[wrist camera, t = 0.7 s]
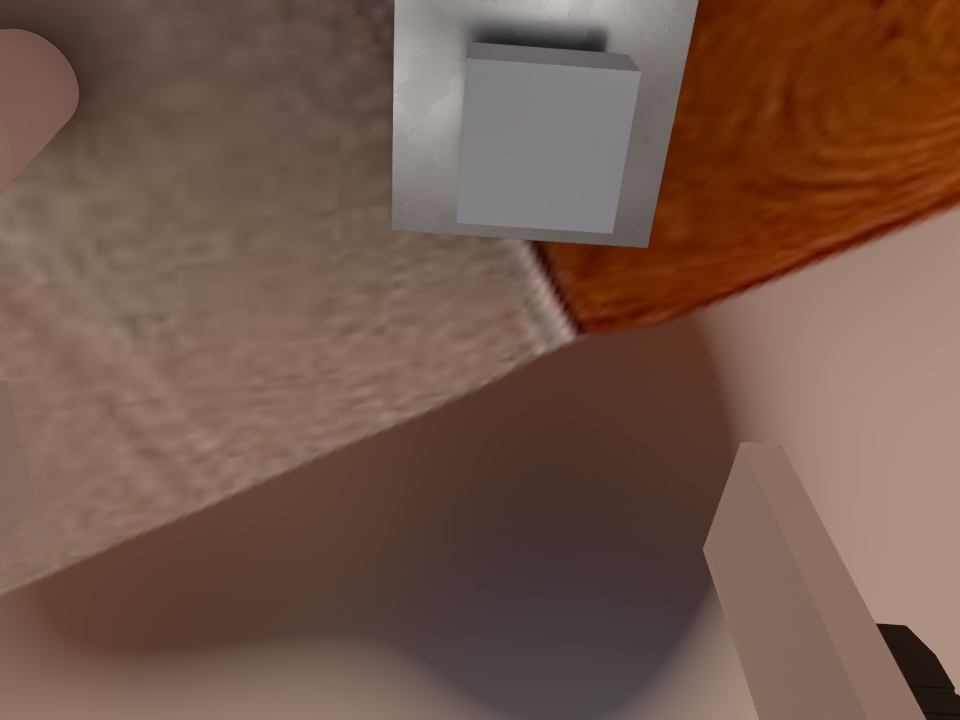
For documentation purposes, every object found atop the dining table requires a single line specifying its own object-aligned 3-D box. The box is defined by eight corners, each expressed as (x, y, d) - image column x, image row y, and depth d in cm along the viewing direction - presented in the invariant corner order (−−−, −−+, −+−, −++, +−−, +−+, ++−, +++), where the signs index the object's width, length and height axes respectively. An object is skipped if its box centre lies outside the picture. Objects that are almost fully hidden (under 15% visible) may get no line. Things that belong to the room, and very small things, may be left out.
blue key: (469, 26, 26) (466, 58, 22) (615, 38, 27) (641, 71, 22) (460, 170, 29) (456, 223, 25) (593, 180, 29) (612, 233, 25)
